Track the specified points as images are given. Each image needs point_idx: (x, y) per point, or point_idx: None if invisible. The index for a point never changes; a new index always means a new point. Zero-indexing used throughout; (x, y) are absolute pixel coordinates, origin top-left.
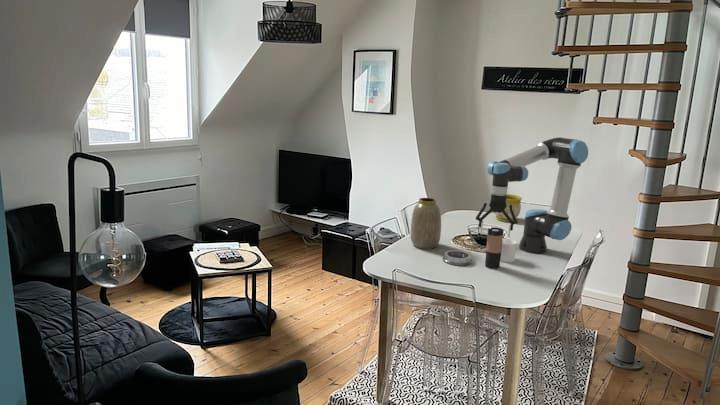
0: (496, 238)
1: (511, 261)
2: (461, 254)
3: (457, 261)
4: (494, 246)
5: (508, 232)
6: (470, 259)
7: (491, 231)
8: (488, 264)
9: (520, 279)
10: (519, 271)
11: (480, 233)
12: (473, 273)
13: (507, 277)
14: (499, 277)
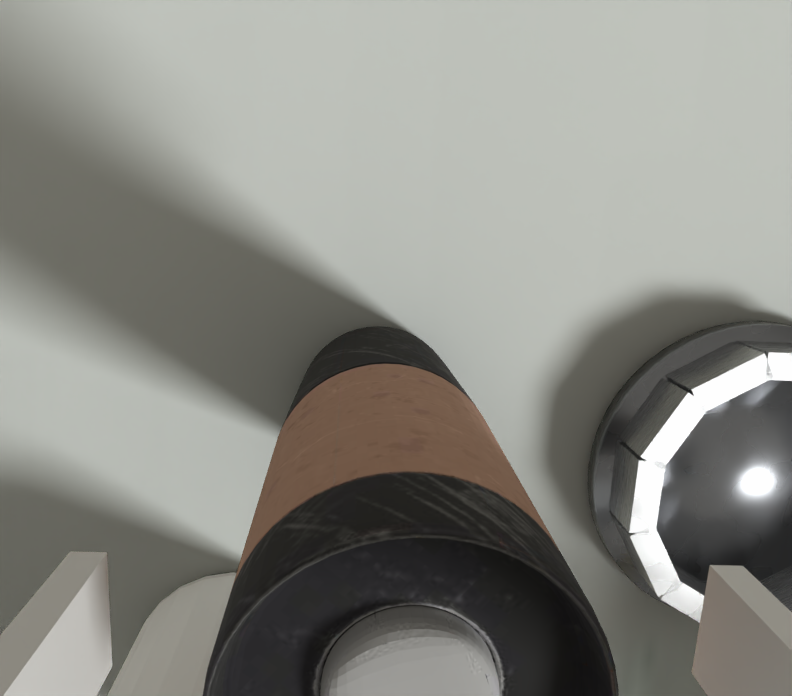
0: (377, 448)
1: (166, 599)
2: None
3: (775, 345)
4: (394, 394)
5: (53, 623)
6: (613, 489)
7: (538, 552)
8: (428, 347)
9: (67, 67)
10: (81, 337)
11: (747, 575)
12: (593, 119)
13: (216, 93)
14: (307, 67)
